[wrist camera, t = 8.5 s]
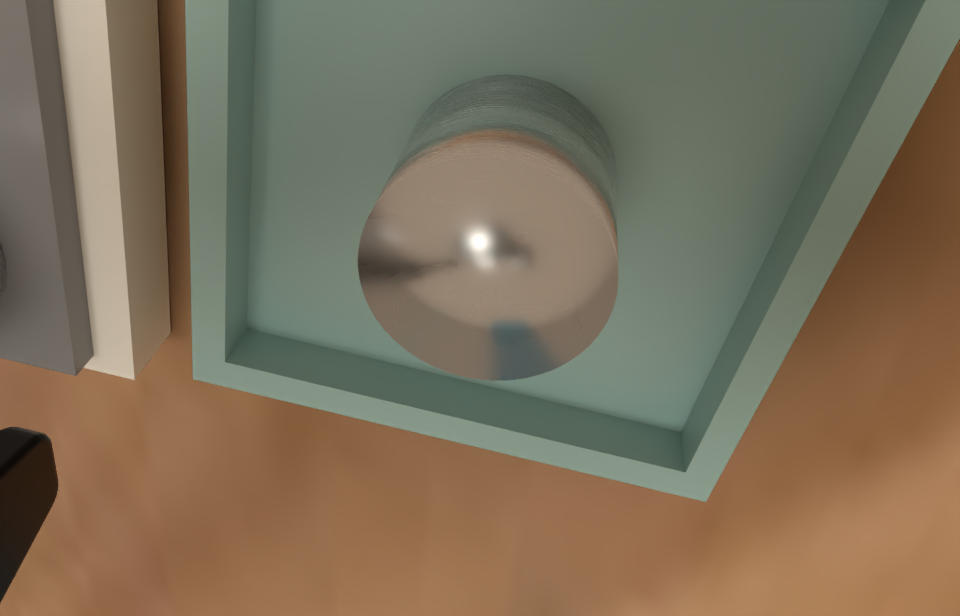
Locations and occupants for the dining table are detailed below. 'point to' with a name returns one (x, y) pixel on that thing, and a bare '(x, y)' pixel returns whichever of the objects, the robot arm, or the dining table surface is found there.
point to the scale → (82, 185)
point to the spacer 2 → (496, 232)
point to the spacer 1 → (2, 269)
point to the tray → (639, 187)
